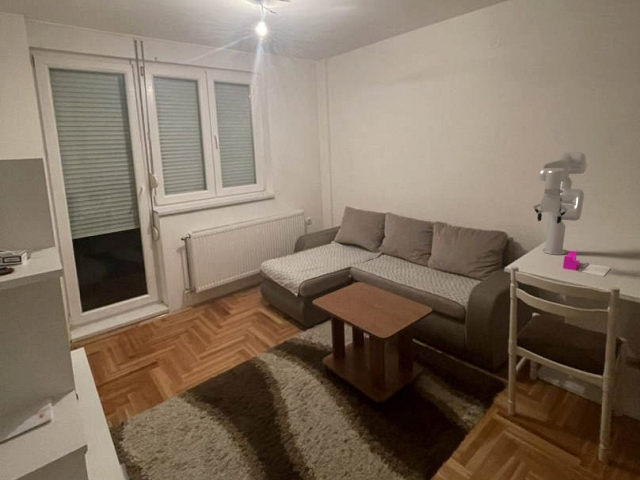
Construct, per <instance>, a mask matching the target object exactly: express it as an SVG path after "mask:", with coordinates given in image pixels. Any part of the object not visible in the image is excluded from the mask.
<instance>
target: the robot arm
mask: <svg viewBox="0 0 640 480" xmlns="http://www.w3.org/2000/svg"><path fill="white" fill-rule="evenodd" d="M586 159H587V158H586V155H585V154H584V153H583V152H575V151H574V152H567V151H565V152H562V153H560V154H559V155H557V157H556V159H555V160H554V161H551V162H548V163H545V164H544V165H543V166H542V167H541V168H540V171H539V174H538V178H539V181H542V182H545V184H544V185H545V186H544V191H543V192H544V193H543V194H542V197H541V200H540V203H538V204H535V205H534V206H533V209H534V211H535V212H536V214H537V222H541V221H542V216H543V215H542V213H544V212H545V213H547V214H548V215H547V217H548V224H547V234H546V242H545V247H544V248H542V252H543V253H545V254H548V255H555V256H556V255H558V256H560V255H565V254H566V250H563V249H564V241H565V233H566V224H565V222H564V221H572V222H573V221H574V222H575V221H579V220H580V218H581V216H582V210H583V204H584V197H585V193H584V190H583V189H580V188H572V185H573V181H572V179H571V178H570V176H569V175H581V174H584V173H585V172H586V170H587V160H586ZM538 208H539V209H538Z"/></svg>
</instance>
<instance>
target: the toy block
mask: <svg viewBox="0 0 640 480" xmlns="http://www.w3.org/2000/svg"><path fill="white" fill-rule="evenodd" d="M577 254H578V251H576V250H575V251H574V250H569V251H568V254H567V255H565V254H564V258H563V262H562V263H563V265H562V269H563V268H564V269H565V270H570V271H577V269H579V267H580V262H581V260H577ZM564 269H563V270H564Z"/></svg>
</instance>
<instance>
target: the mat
mask: <svg viewBox="0 0 640 480" xmlns="http://www.w3.org/2000/svg"><path fill="white" fill-rule="evenodd" d="M611 269H612V268H611V267H609V266H604V265H597V264H592V263H591V264H590V262H586V263H585V264H583V265H582V266H581V267H580V268H578V273H584V274H589V275H594V276H601V277H604V276H606V274H607V273H608V272H609V271H610V270H611Z"/></svg>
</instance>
